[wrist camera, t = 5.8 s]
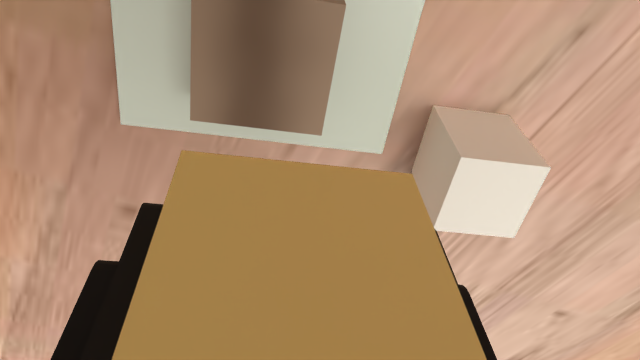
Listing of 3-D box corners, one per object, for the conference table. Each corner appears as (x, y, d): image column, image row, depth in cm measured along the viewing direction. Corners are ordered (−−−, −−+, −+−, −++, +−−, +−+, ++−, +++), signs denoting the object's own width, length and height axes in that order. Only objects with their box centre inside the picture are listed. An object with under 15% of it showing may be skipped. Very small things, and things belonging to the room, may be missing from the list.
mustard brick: (412, 173, 11) (525, 453, 6) (364, 320, 13) (412, 594, 8) (181, 150, 10) (82, 447, 5) (181, 310, 13) (117, 603, 8)
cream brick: (508, 114, 30) (551, 167, 25) (480, 178, 33) (514, 237, 28) (433, 104, 29) (461, 157, 24) (411, 171, 32) (432, 230, 27)
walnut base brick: (340, -12, 24) (346, 5, 22) (318, 110, 28) (321, 135, 26) (201, -34, 24) (191, -20, 21) (199, 95, 28) (190, 120, 25)
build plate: (435, -52, 24) (438, -50, 24) (380, 149, 31) (382, 154, 30) (105, -110, 22) (101, -109, 22) (123, 119, 29) (120, 124, 28)
